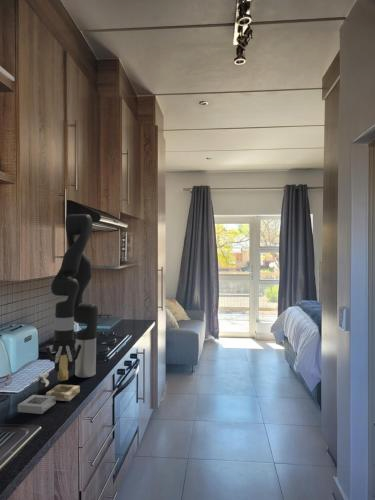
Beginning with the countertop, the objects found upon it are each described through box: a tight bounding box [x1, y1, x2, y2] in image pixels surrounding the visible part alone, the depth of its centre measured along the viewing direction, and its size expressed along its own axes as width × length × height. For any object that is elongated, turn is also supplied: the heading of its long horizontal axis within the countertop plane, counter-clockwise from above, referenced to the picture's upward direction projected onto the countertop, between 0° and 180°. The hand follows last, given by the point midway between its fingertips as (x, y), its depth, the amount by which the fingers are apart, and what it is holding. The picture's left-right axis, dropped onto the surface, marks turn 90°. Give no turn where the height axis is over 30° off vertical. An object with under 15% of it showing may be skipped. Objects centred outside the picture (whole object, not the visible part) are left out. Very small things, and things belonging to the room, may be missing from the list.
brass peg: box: [57, 354, 69, 382], centre depth 145 cm, size 4×4×10 cm
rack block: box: [45, 383, 81, 402], centre depth 145 cm, size 10×10×2 cm
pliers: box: [32, 372, 50, 388], centre depth 161 cm, size 10×2×15 cm
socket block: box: [17, 394, 57, 415], centre depth 134 cm, size 10×10×2 cm
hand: (63, 370), depth 145 cm, fingers closed on brass peg, 4 cm apart
